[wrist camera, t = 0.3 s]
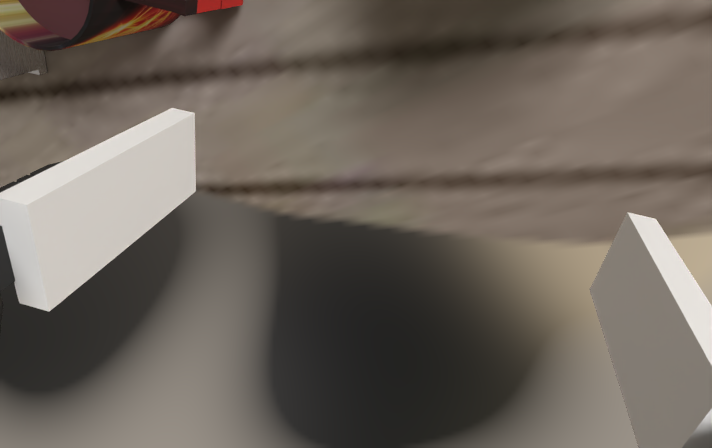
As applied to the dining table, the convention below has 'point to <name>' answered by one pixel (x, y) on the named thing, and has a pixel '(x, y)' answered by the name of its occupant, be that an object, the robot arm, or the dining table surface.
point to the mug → (92, 19)
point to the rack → (19, 58)
